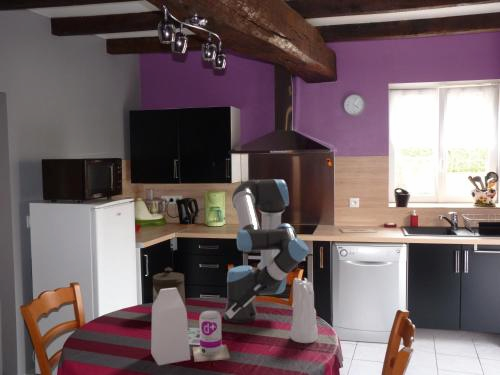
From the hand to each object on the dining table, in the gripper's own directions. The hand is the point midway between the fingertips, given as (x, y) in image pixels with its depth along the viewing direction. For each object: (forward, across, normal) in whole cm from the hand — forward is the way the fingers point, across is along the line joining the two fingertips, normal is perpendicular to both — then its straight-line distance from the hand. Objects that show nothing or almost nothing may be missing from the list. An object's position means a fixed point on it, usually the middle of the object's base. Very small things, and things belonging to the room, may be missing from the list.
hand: (235, 309), depth 193 cm
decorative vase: (0, -27, +26) cm, 38 cm away
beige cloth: (+20, 0, +6) cm, 21 cm away
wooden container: (+48, -37, -22) cm, 65 cm away
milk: (+30, +7, -4) cm, 31 cm away
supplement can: (+20, 0, +5) cm, 20 cm away
